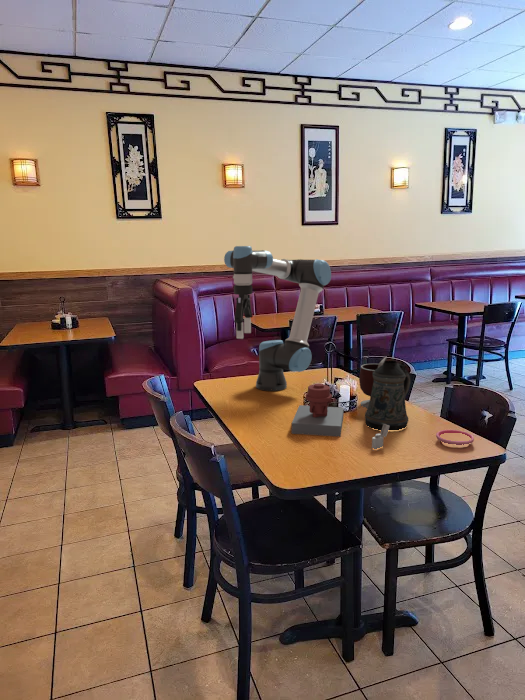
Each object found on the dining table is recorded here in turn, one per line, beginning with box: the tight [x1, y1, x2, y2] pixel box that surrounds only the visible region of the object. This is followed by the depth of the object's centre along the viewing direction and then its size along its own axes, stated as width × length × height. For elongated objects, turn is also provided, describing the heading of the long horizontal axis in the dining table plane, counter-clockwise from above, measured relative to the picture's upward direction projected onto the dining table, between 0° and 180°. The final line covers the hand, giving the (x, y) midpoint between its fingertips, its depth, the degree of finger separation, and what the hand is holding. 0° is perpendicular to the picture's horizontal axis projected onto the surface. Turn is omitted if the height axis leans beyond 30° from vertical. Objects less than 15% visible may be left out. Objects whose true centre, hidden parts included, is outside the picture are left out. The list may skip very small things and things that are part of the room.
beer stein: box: [364, 360, 411, 430], centre depth 198 cm, size 16×19×25 cm
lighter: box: [371, 424, 390, 449], centre depth 176 cm, size 7×2×8 cm, turn 127°
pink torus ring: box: [435, 429, 475, 445], centre depth 180 cm, size 12×12×3 cm
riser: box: [291, 404, 345, 438], centre depth 199 cm, size 22×18×4 cm
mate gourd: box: [358, 356, 387, 409], centre depth 222 cm, size 16×14×20 cm
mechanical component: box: [305, 382, 333, 418], centre depth 198 cm, size 12×10×10 cm
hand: (243, 335), depth 214 cm, fingers open, 13 cm apart
